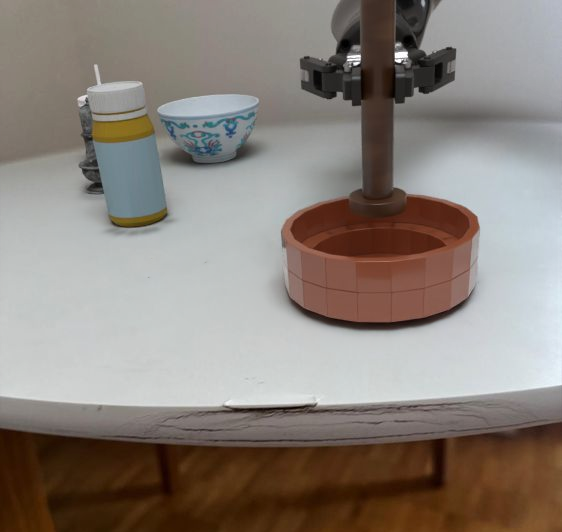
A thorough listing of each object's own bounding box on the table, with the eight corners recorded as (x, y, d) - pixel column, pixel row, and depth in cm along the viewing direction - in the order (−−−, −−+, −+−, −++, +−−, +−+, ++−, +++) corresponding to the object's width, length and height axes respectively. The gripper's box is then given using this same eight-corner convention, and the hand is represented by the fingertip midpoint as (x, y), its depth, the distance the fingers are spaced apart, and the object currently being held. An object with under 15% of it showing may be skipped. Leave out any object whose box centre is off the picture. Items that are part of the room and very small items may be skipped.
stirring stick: (396, 196, 61) (400, -41, 51) (413, 214, 57) (421, -40, 47) (343, 203, 61) (337, -36, 51) (356, 221, 57) (352, -34, 47)
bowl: (435, 243, 70) (438, 184, 67) (506, 315, 56) (513, 245, 53) (274, 264, 69) (269, 205, 66) (305, 343, 55) (300, 273, 52)
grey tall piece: (114, 179, 100) (96, 90, 94) (134, 186, 96) (117, 94, 90) (76, 189, 97) (55, 98, 91) (95, 197, 93) (75, 103, 87)
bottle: (104, 216, 86) (75, 87, 78) (157, 204, 88) (135, 78, 80) (119, 232, 80) (91, 95, 72) (176, 219, 83) (154, 85, 75)
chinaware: (226, 174, 97) (219, 117, 93) (145, 166, 105) (136, 113, 101) (281, 148, 108) (277, 95, 104) (205, 142, 115) (198, 93, 111)
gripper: (449, 93, 67) (471, 138, 52) (304, 100, 68) (287, 146, 54) (454, 4, 63) (479, 27, 48) (300, 15, 64) (280, 40, 50)
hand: (377, 90), depth 51 cm, fingers closed on stirring stick, 2 cm apart
